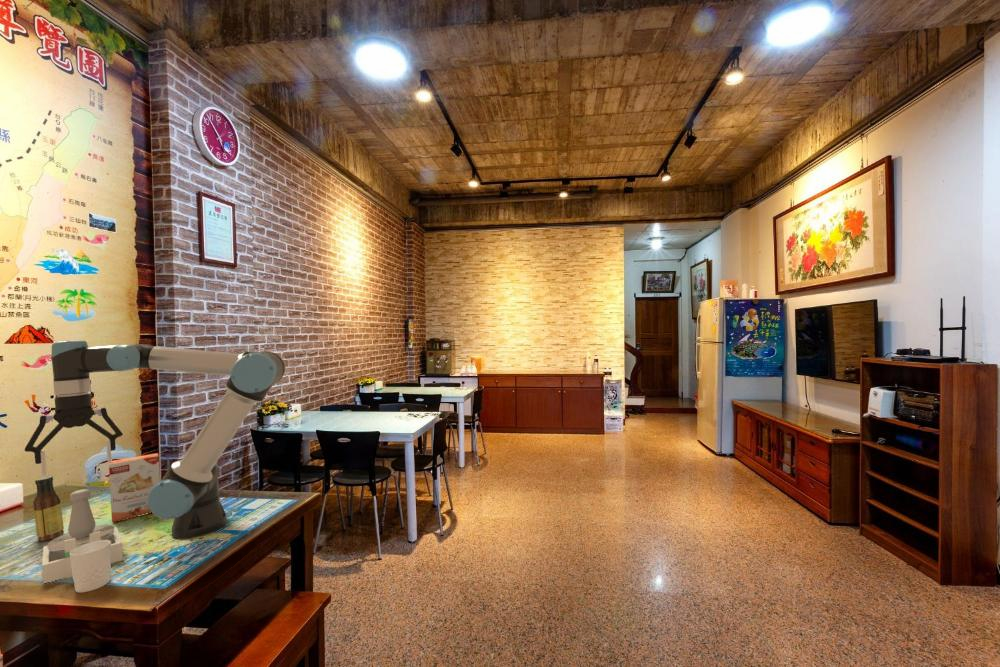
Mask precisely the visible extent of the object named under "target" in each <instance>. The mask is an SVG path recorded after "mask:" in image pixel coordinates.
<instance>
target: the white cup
mask: <svg viewBox="0 0 1000 667" xmlns="http://www.w3.org/2000/svg"><path fill="white" fill-rule="evenodd" d="M70 561H71V569H72V575H73V577H72V580H73V584H74V585H73V586H74V591H75V592H76V593H86V592H92V591H94V590H98V589H99V588H102V587H104V586H105V585H107V584H108V583H109V582H110V581H111V567H112V565H111V564H112V563H111V541H110V540H99V541H94V542H90V543H87V544H84V545H81V546H79V547H77V548H75V549H73V550H72V551H70Z"/></svg>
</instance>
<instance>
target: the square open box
mask: <svg viewBox="0 0 1000 667" xmlns="http://www.w3.org/2000/svg"><path fill="white" fill-rule="evenodd" d="M89 536H90V542H94V541H99V540H101V537H100V531H98V532H94V533H91V534H89ZM103 540H110V541H111V564H114V563H117V562H120V561H123V558H124V557H123V545H122V544H123V543H122V540H121V537H120V533H119V531H118V527H117V526H116V527H115V526H114V533H113V534H112V535H111V536H109V537H107V538H105V539H103ZM64 547H65V551H59V552H53V551H49V550H48V547H47V545H44V546H43V550H42V560H41V573H42V574H41V575H42V585H43V584H44V583H47V582H50V583H53V582H56V581H55V580H57V581H60V580H62V579H69V578H73V575H72V569H71V561H70V551H72V550H73V549H75V548H76V539H75V538H72V539H68V540H65V541H64ZM59 579H60V580H59ZM52 581H53V582H52ZM47 584H48V583H47ZM44 585H45V584H44Z"/></svg>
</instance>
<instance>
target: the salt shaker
mask: <svg viewBox="0 0 1000 667" xmlns="http://www.w3.org/2000/svg"><path fill="white" fill-rule="evenodd" d="M90 496H91V492H90V489H86V488H85V489H83V488H81V489H78V490H75V491H73V492H71V493H70V494H69V500H70V502H72V504H71V511H70V516H69V517H70V518H69V522H68V523H69V524H68V529H67V533H69V534H70V535H71V537H72V538H75V539H79V538H83V537H87V536H89V534H91V533H93V530H94V528H95V526H96V521H95V517H94V513H93V512H92V509H91V506H90V502H89V498H90Z"/></svg>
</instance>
